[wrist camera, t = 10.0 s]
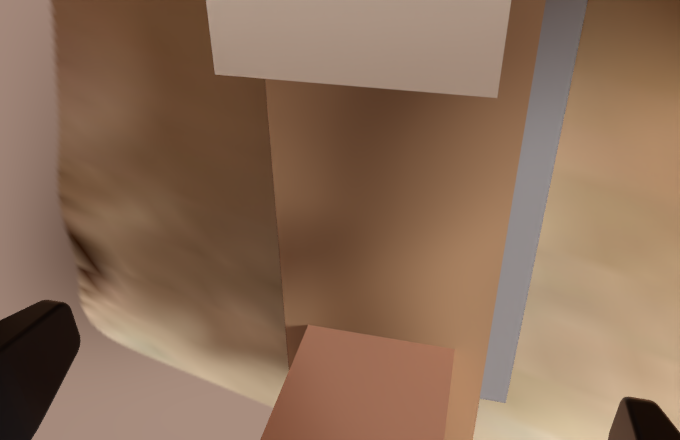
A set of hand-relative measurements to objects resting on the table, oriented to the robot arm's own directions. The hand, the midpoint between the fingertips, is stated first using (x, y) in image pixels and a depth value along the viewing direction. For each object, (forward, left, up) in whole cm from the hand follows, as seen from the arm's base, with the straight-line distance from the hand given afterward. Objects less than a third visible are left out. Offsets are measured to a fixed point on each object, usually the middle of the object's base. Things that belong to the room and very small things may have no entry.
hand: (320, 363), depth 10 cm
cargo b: (0, +6, -5) cm, 8 cm away
